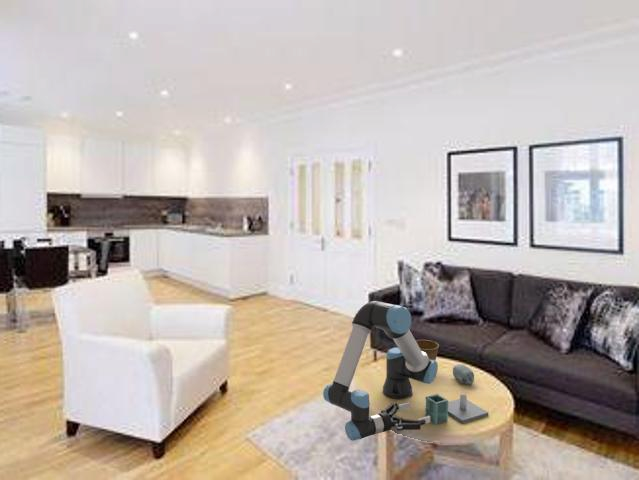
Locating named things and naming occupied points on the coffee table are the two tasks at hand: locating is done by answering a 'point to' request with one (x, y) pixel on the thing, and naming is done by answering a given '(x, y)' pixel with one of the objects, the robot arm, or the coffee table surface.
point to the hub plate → (465, 410)
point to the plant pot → (428, 348)
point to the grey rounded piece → (463, 374)
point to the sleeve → (437, 409)
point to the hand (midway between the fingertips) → (419, 411)
